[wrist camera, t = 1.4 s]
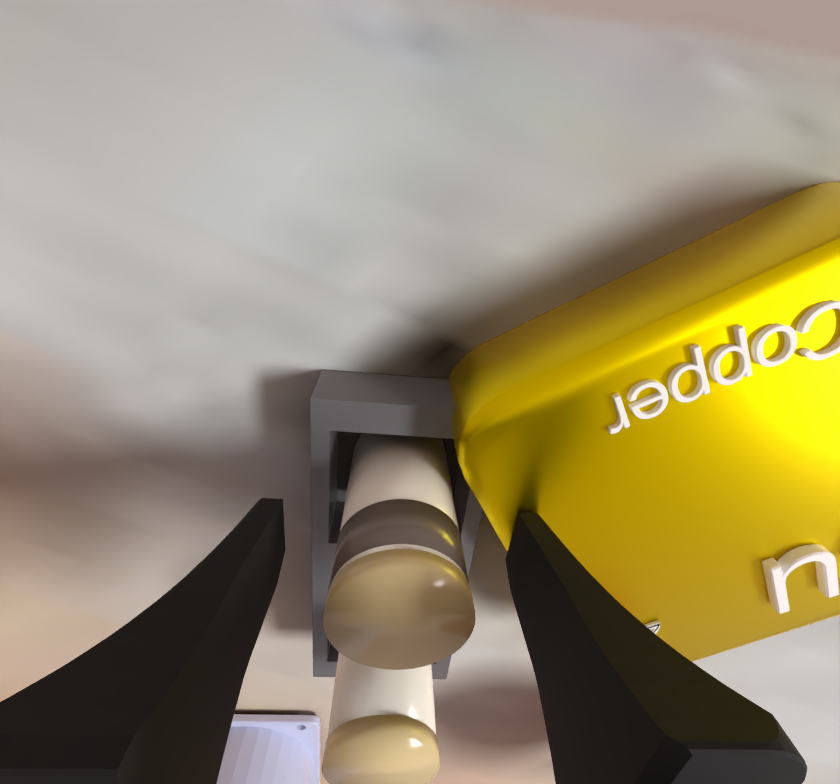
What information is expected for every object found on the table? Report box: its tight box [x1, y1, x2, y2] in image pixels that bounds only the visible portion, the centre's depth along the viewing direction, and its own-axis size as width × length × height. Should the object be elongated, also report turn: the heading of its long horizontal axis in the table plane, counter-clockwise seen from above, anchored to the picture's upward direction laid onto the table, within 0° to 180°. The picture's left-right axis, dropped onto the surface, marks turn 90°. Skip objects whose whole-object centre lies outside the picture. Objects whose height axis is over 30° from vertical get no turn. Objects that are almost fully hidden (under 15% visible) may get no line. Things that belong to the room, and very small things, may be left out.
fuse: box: [322, 652, 440, 784], centre depth 17 cm, size 4×4×7 cm
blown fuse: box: [323, 433, 475, 670], centre depth 14 cm, size 4×4×7 cm
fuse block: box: [310, 370, 483, 679], centre depth 17 cm, size 6×14×2 cm, turn 174°
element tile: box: [449, 182, 840, 662], centre depth 15 cm, size 15×15×5 cm
